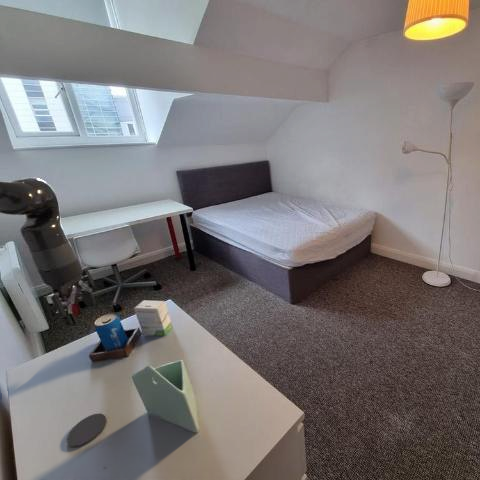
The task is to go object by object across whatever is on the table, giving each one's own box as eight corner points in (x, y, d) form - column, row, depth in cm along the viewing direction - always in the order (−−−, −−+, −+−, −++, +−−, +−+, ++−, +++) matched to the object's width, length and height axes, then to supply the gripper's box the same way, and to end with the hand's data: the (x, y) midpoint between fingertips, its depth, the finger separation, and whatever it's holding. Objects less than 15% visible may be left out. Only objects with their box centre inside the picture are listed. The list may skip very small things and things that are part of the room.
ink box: (142, 335, 96) (132, 309, 91) (152, 325, 100) (142, 299, 95) (165, 336, 95) (156, 309, 90) (174, 326, 100) (165, 300, 95)
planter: (218, 403, 71) (202, 348, 63) (197, 433, 65) (176, 376, 57) (171, 386, 77) (151, 333, 68) (147, 413, 70) (121, 358, 62)
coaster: (60, 450, 62) (59, 449, 62) (80, 418, 69) (79, 416, 69) (96, 443, 63) (95, 441, 63) (112, 412, 70) (111, 410, 70)
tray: (91, 362, 85) (88, 355, 84) (109, 338, 95) (106, 331, 94) (128, 356, 87) (125, 349, 86) (141, 333, 97) (139, 327, 95)
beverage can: (110, 357, 87) (96, 329, 82) (103, 348, 90) (90, 321, 86) (132, 345, 91) (120, 317, 87) (125, 337, 95) (113, 310, 90)
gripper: (58, 251, 71) (81, 301, 78) (15, 278, 59) (47, 335, 65) (90, 247, 73) (110, 297, 79) (55, 273, 60) (83, 330, 67)
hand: (82, 314), depth 72 cm, fingers open, 8 cm apart
